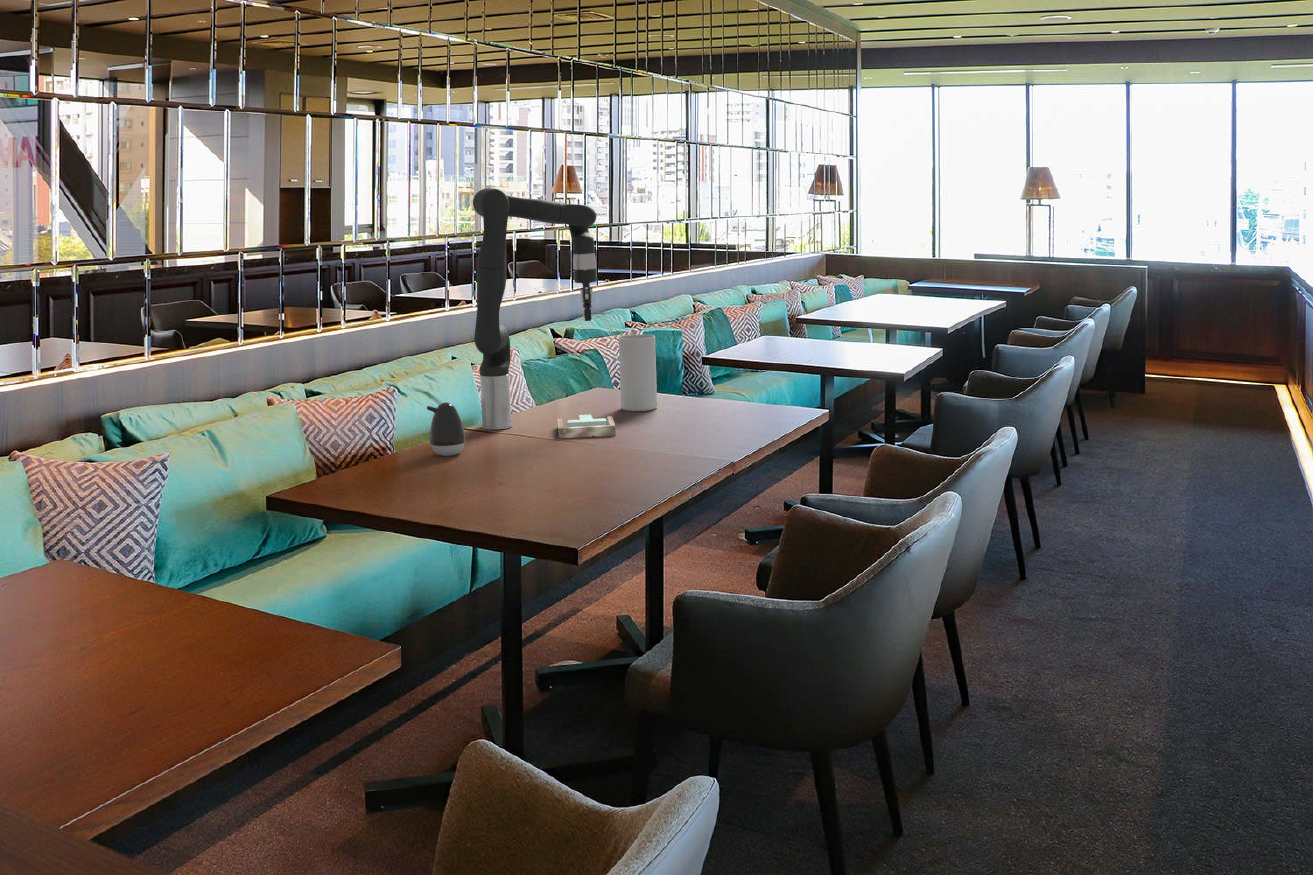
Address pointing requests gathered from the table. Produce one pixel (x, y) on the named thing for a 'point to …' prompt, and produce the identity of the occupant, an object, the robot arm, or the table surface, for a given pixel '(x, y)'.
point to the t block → (586, 421)
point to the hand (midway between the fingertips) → (588, 320)
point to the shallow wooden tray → (587, 430)
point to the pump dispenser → (446, 430)
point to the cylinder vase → (638, 372)
